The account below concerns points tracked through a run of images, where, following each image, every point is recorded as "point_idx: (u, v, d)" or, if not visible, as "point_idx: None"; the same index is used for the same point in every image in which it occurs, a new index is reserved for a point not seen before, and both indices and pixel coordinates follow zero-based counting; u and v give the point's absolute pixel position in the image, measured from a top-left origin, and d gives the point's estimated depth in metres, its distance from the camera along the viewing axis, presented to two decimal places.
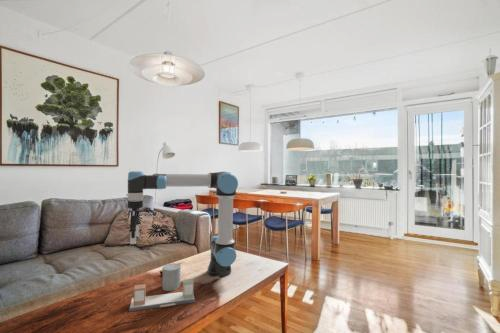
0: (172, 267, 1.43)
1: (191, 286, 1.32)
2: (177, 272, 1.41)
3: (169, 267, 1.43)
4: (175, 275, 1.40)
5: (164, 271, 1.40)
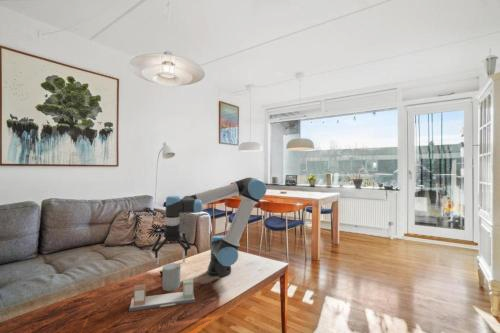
0: (172, 267, 1.43)
1: (191, 286, 1.32)
2: (177, 272, 1.41)
3: (169, 267, 1.43)
4: (175, 275, 1.40)
5: (164, 271, 1.40)
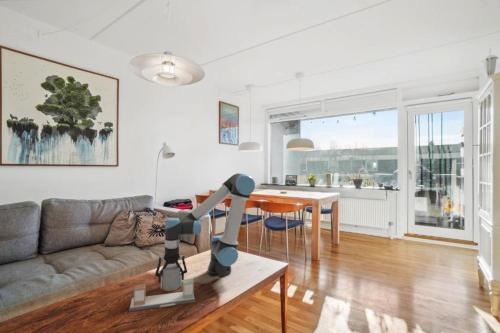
0: (172, 267, 1.43)
1: (191, 286, 1.32)
2: (177, 272, 1.41)
3: (169, 267, 1.43)
4: (175, 275, 1.40)
5: (164, 271, 1.40)
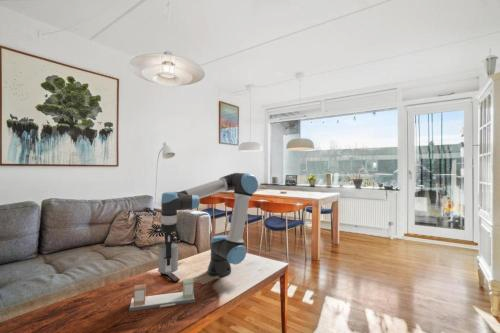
0: None
1: (191, 286, 1.32)
2: None
3: None
4: None
5: (174, 249, 1.29)
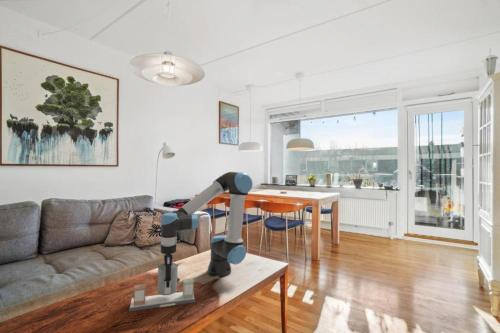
0: None
1: (191, 286, 1.32)
2: None
3: None
4: None
5: (173, 270, 1.29)
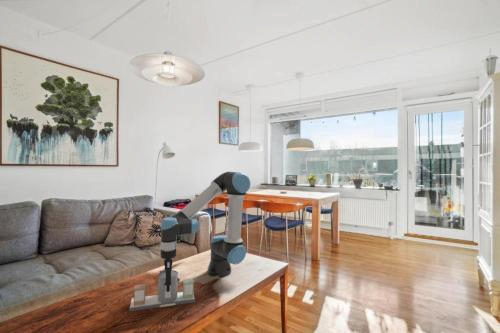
0: None
1: (191, 286, 1.32)
2: None
3: None
4: None
5: (173, 278, 1.29)
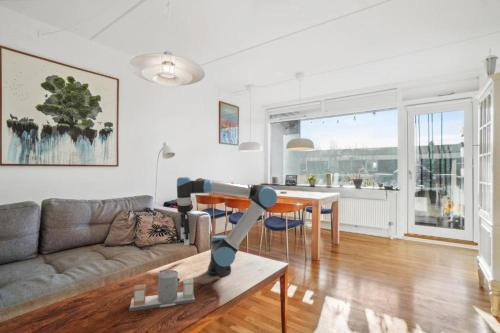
0: (169, 274, 1.32)
1: (191, 286, 1.32)
2: None
3: (168, 275, 1.31)
4: None
5: (173, 278, 1.29)
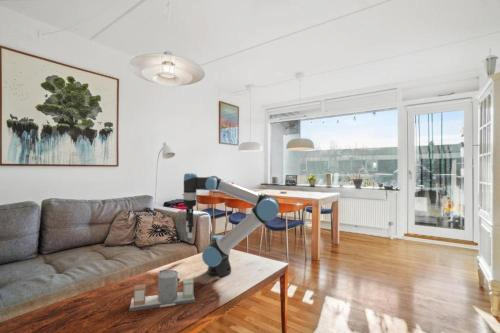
0: (169, 274, 1.32)
1: (191, 286, 1.32)
2: None
3: (168, 275, 1.31)
4: None
5: (173, 278, 1.29)
